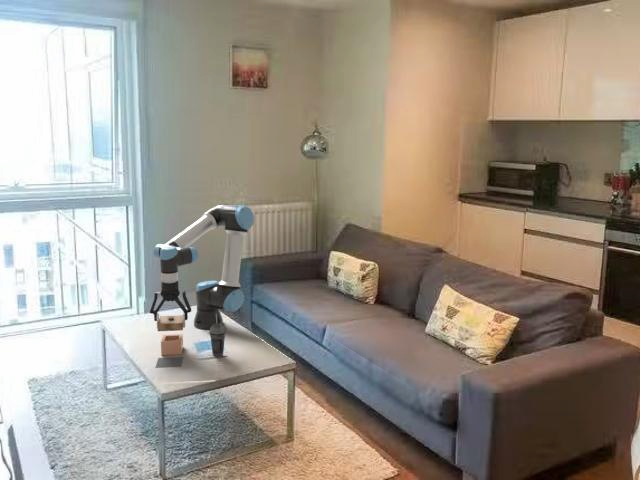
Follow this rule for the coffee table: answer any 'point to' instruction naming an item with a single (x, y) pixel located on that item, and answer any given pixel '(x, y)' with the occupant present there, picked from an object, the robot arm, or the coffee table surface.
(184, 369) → the coffee table surface
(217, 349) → the beverage cup
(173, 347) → the peach open box
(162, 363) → the mat
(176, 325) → the lid
